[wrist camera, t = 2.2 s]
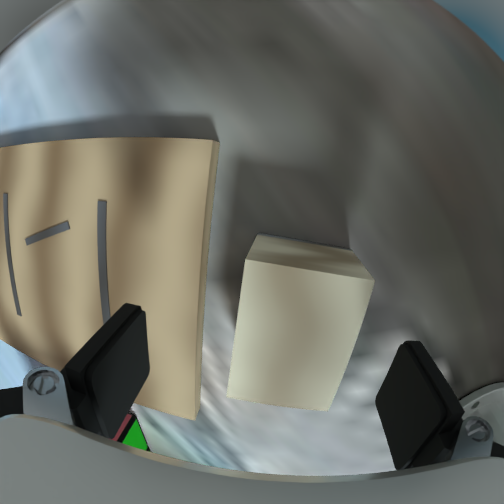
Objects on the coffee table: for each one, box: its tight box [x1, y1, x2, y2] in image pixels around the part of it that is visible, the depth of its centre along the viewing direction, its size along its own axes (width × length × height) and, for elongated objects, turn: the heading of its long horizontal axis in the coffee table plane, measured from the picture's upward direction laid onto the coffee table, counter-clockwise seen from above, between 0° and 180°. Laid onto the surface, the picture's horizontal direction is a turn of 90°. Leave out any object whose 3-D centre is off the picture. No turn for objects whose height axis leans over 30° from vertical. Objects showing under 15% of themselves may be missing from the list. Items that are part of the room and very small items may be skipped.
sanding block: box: [227, 233, 375, 411], centre depth 14 cm, size 5×7×5 cm
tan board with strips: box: [0, 137, 220, 420], centre depth 17 cm, size 22×18×2 cm
